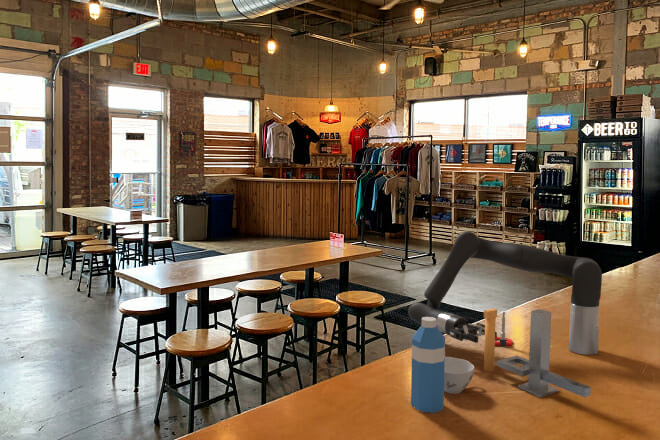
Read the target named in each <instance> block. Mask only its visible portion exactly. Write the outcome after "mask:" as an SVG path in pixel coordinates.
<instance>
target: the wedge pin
mask: <svg viewBox="0 0 660 440" xmlns="http://www.w3.org/2000/svg"><path fill="white" fill-rule="evenodd" d="M496 318H498V309H495V308H490V309H485V310H483V319H485V320H484V321H485V322H484V325H485V335H484V347H483V348H484V349H483V350H484V352H483V357H484V358H483V370H484V371H487V372H494V371H495V352H496V351H495V347H496V346H495V341H496V340H495V332H496V320H497V319H496Z"/></svg>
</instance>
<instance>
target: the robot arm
mask: <svg viewBox="0 0 660 440" xmlns="http://www.w3.org/2000/svg"><path fill="white" fill-rule="evenodd" d="M470 258H471V259H479V260H480V259H481V260H485V261H486V260H487V261H491V262H494V263H497V264H499V265H503V266H507V267H509V268H513V269H517V270H521V271H525V272H529V273H530V272H531V273H537V274H539V273H541V274H556V275H560V276H564V277H567V278H570V279H572V285H571V295H570V310H569V311H570V312H569V331H568V332H569V333H568V335H569V337H568V350H569V351H570V352H571V353H575V354H580V355H585V356H586V355H587V356H589V355H598V354H599V352H598V351H599V340H600V339H599V335H600V328H599V319H600V318H599V315H600V300H601V296H602V295H601V294H602V283H603V271H602V269H601V267H600V265H599V264H598V262H596V261H595V260H593V259H592V258H589V257H581V256H571V255H565V254H560V253H556V252H553V251H549V250H547V249H543V248H538V247H536V246H531V245H526V244H521V243H513V242H501V241H500V242H499V241H498V242H497V241H492V240H488V239H485V238H482V237H479V236H477V235H476V234H475V233H474V232H472V231H463V232H460V233H459V234H458V235H457V236H456V237H455V240H454V243H453V245H452V247H451V250H450V252H449V255H447V258H446V260H445V261H444V263H443V265H442V266H441V268H440V269H439V271H437V273H436V275H435V276H434V278H433V279H432V281H431V282H430V283H429V285H428V286H427V288H426V290H425V291H424V294H423V295H424V298H425V299H426V300H427V301H426V302H427V303H426V304H425V303H423V302H417V301H416V302H413V303H412V304H411V305H410V306H409V307H408V310H407V314H408V317H409V318H410V319H411V320H413V321H414V322H416V323H418V324H419V325H422V317H434V318H436V326H437V327H438V329H439V330H440V331H441V333H442V334H443V335H444V334H445V335H447V336H449V337H451V338H453V339H455V340H458V341H460V342H463V341H470V342H473V343H475V344H477V343H479V337H482V336H485V323H484V324H483V323H479V322H476V324H473V323H470V322H469V321H468V319H467V318H465V317H463V316H461V315H457V314H453V313H450V312H446V311H442V310H440V306H441V303H442V302H443V299H444V298H445V297H446V295H447V293H448V292H449V291H450V288H451V287H452V285H453V283H454V281H455V279H457V276H458V275H459V273H460V271H461V269H462V268H463V267H464V265H465V264H466V263H467V261H468V260H469V259H470ZM497 337H498V332H497V331H495V338H497Z"/></svg>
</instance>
